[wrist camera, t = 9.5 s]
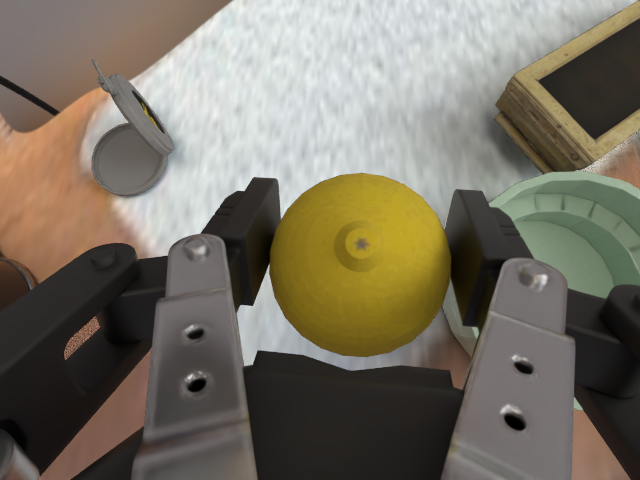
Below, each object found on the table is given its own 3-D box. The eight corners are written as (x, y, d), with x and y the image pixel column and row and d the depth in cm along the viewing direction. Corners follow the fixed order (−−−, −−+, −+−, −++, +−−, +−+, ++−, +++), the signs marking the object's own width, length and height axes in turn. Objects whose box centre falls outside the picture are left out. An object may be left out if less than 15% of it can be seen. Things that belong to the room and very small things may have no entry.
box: (474, 120, 30) (508, 77, 25) (651, 2, 35) (709, -54, 30) (546, 201, 28) (598, 171, 23) (722, 65, 33) (794, 17, 28)
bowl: (401, 268, 30) (412, 257, 24) (543, 165, 30) (589, 129, 24) (525, 431, 27) (574, 464, 21) (680, 313, 27) (770, 312, 21)
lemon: (291, 346, 16) (231, 376, 8) (292, 217, 17) (241, 130, 9) (426, 346, 15) (506, 377, 7) (418, 213, 16) (481, 119, 9)
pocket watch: (85, 181, 33) (-26, 126, 24) (130, 100, 35) (43, 16, 25) (163, 216, 32) (80, 173, 22) (207, 131, 33) (147, 54, 24)
